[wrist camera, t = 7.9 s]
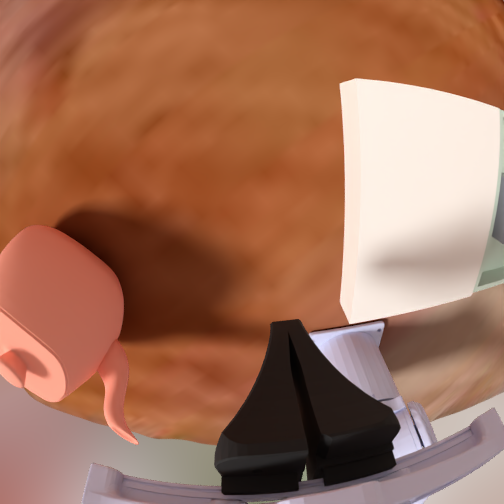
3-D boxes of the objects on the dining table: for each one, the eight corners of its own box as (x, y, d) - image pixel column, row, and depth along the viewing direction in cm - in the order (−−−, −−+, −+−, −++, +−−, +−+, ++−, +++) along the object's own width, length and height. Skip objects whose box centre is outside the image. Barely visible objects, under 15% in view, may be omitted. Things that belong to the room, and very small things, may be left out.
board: (456, 280, 24) (471, 295, 21) (339, 302, 24) (349, 324, 21) (476, 105, 15) (499, 108, 13) (339, 83, 16) (355, 78, 13)
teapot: (141, 370, 28) (115, 463, 17) (4, 276, 22) (-55, 342, 11) (199, 299, 23) (175, 427, 12) (22, 176, 17) (-78, 232, 7)
